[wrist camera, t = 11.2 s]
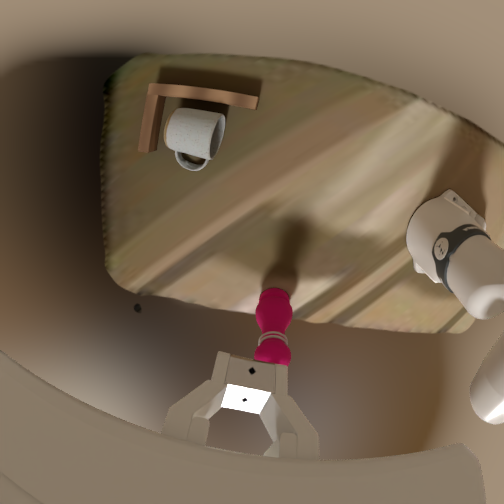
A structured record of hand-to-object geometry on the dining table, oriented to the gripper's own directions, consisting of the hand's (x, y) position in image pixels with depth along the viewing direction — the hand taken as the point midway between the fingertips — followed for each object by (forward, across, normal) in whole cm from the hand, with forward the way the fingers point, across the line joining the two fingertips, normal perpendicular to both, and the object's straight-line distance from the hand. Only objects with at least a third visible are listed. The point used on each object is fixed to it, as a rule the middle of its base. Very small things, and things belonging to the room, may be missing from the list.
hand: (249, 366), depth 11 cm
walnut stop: (+39, +14, -7) cm, 42 cm away
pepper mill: (+39, -7, +24) cm, 46 cm away
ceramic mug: (+39, +13, -4) cm, 41 cm away
